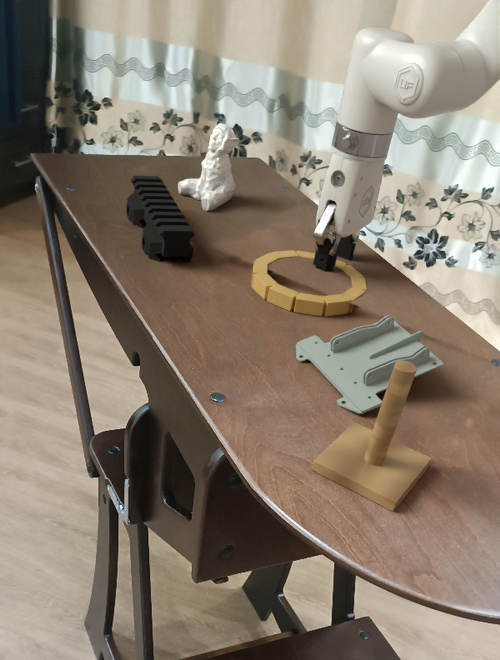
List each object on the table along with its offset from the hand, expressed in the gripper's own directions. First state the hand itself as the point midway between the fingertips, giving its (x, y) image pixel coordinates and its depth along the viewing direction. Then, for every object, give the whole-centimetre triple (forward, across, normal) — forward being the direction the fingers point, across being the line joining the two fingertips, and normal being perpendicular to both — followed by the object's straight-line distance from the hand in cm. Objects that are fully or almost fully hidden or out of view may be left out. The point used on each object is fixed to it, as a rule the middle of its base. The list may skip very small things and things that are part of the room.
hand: (330, 271), depth 105 cm
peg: (0, -38, -25) cm, 45 cm away
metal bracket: (+1, -21, -17) cm, 27 cm away
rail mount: (+1, -9, +25) cm, 27 cm away
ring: (0, -7, 0) cm, 7 cm away
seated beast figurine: (+1, +10, +29) cm, 31 cm away
